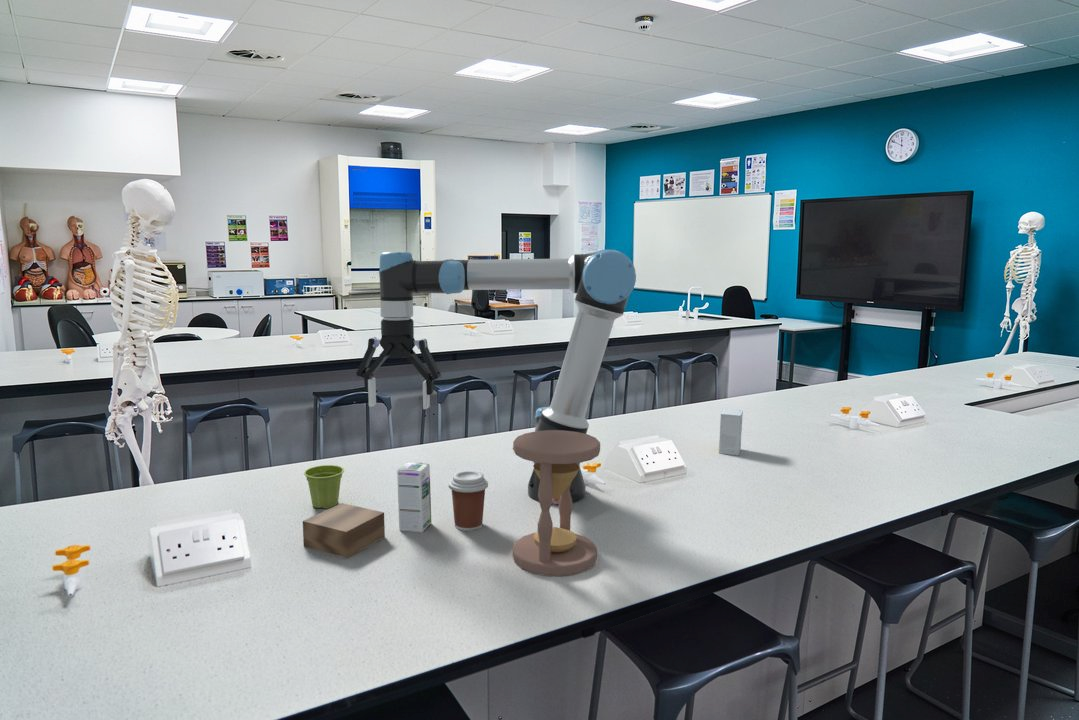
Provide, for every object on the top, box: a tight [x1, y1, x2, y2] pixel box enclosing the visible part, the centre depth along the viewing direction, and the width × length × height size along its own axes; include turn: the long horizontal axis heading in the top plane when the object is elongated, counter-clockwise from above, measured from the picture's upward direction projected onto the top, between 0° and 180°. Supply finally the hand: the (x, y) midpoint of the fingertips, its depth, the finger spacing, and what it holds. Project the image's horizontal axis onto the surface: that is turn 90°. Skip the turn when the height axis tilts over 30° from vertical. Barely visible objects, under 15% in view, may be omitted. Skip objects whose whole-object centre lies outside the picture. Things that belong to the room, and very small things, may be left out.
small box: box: [718, 408, 744, 456], centre depth 222 cm, size 8×6×13 cm
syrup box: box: [396, 462, 432, 533], centre depth 158 cm, size 6×6×14 cm
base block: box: [302, 502, 386, 559], centre depth 150 cm, size 12×12×6 cm
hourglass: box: [511, 430, 601, 577], centre depth 142 cm, size 18×18×25 cm
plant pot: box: [303, 464, 345, 509], centre depth 172 cm, size 9×9×9 cm
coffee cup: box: [448, 470, 489, 532], centre depth 160 cm, size 9×9×12 cm
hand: (399, 406), depth 166 cm, fingers open, 13 cm apart
